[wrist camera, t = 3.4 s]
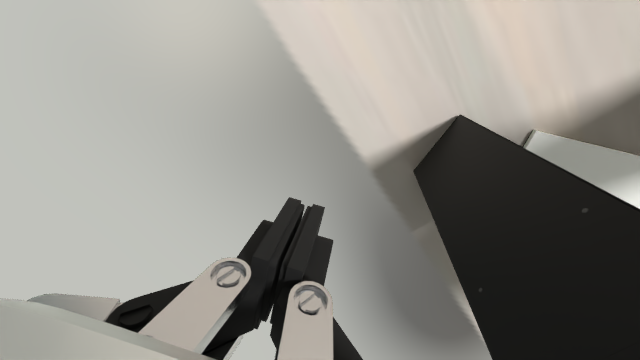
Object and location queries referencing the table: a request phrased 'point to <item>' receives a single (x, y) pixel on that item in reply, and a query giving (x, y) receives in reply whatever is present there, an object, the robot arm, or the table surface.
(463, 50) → the table surface
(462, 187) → the black rectangular box
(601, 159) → the white mat
